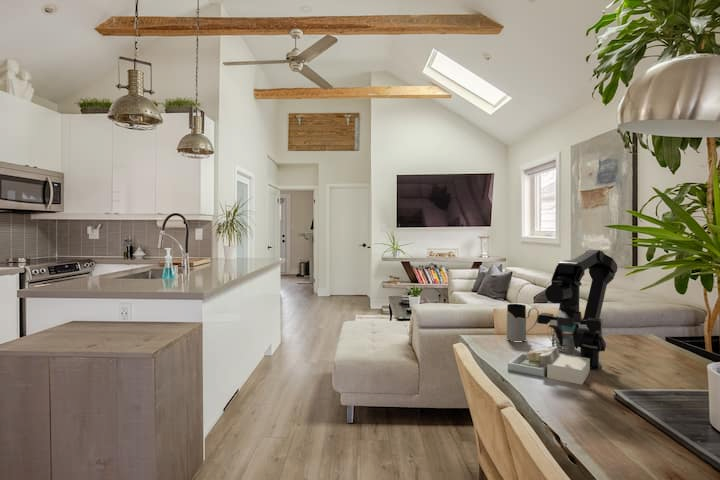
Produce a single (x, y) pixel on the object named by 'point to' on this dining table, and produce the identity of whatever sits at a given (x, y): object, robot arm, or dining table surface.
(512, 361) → the box
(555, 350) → the scraper
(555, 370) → the cream riser block
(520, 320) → the glass holder
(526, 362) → the sage tile
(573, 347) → the french press
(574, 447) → the dining table surface
